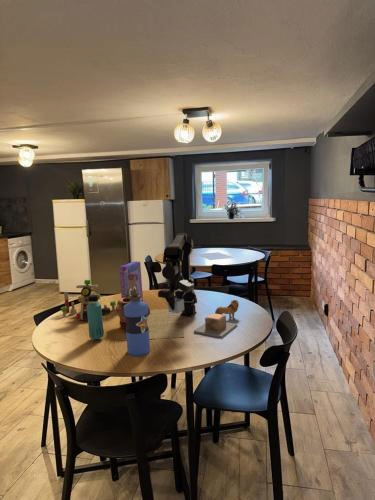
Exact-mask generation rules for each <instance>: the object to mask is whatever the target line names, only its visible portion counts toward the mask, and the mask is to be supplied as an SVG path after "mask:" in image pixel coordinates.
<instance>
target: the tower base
mask: <svg viewBox="0 0 375 500" xmlns="http://www.w3.org/2000/svg"><path fill="white" fill-rule="evenodd" d="M237 327H238V323H234V322H228V321H227V314H223V315H221V314H215V312H214V313H213V312H212V313H211V314H209V315H207V316H206V317H204V324H202V325H200V326H199V327H197V328H196V329H194V330H193V333H194V334H197V335H203V336H208V337H212V338H213V337H214V338H219V339H223V338H224V337H226V336H227V335H228V334H229V333H231V331H233V330H234V329H235V328H237Z"/></svg>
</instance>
